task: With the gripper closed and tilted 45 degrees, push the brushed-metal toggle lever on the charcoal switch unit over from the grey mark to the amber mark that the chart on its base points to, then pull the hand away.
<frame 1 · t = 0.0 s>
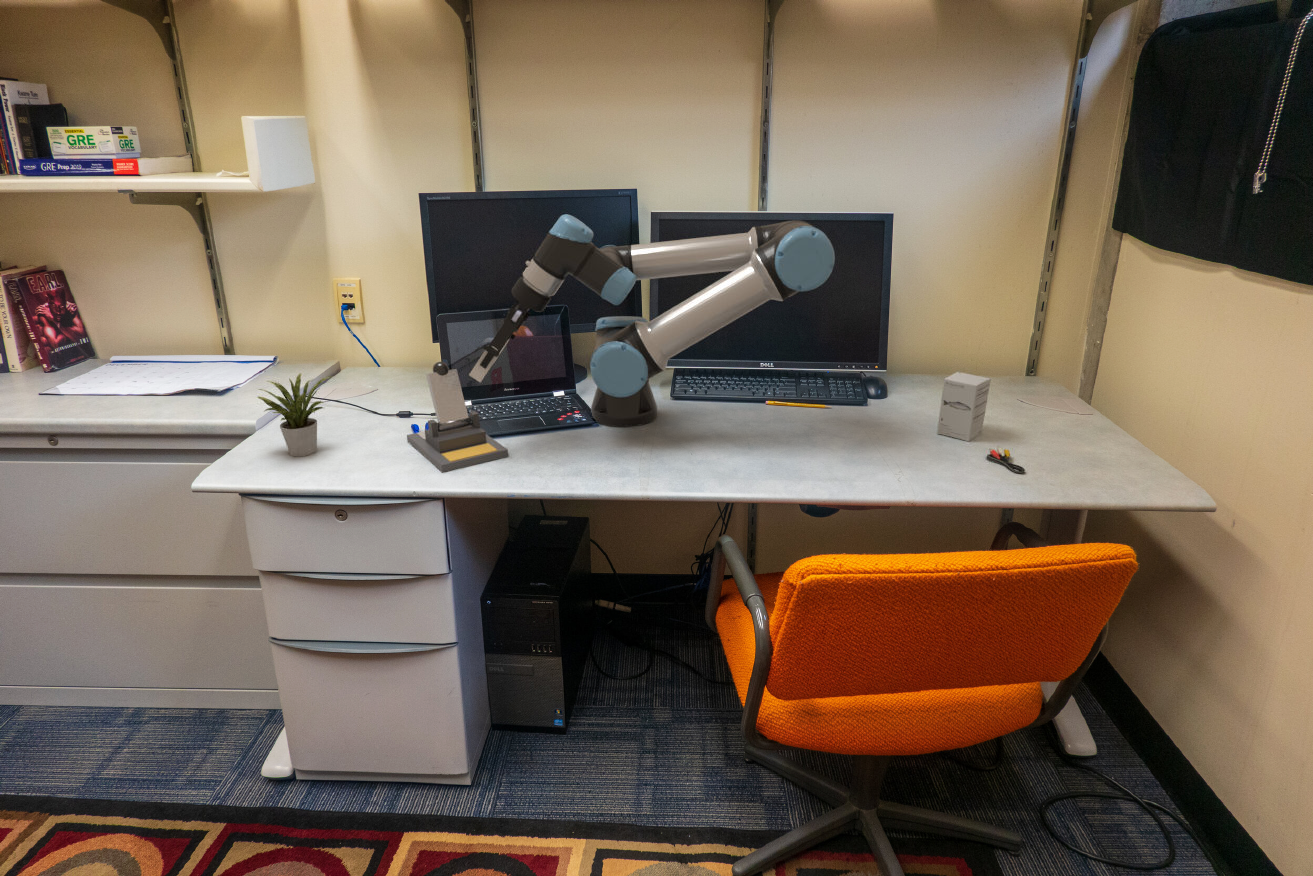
hand: (481, 368, 171), 15 cm above the table, fingers open, 13 cm apart
composite cable: (1003, 467, 161), on the table
switch unit: (456, 448, 170), on the table
toggle lever: (447, 395, 168), point 11 cm above the table, hinge at -24.0°
house plant: (308, 450, 171), on the table
supplement box: (959, 434, 177), on the table
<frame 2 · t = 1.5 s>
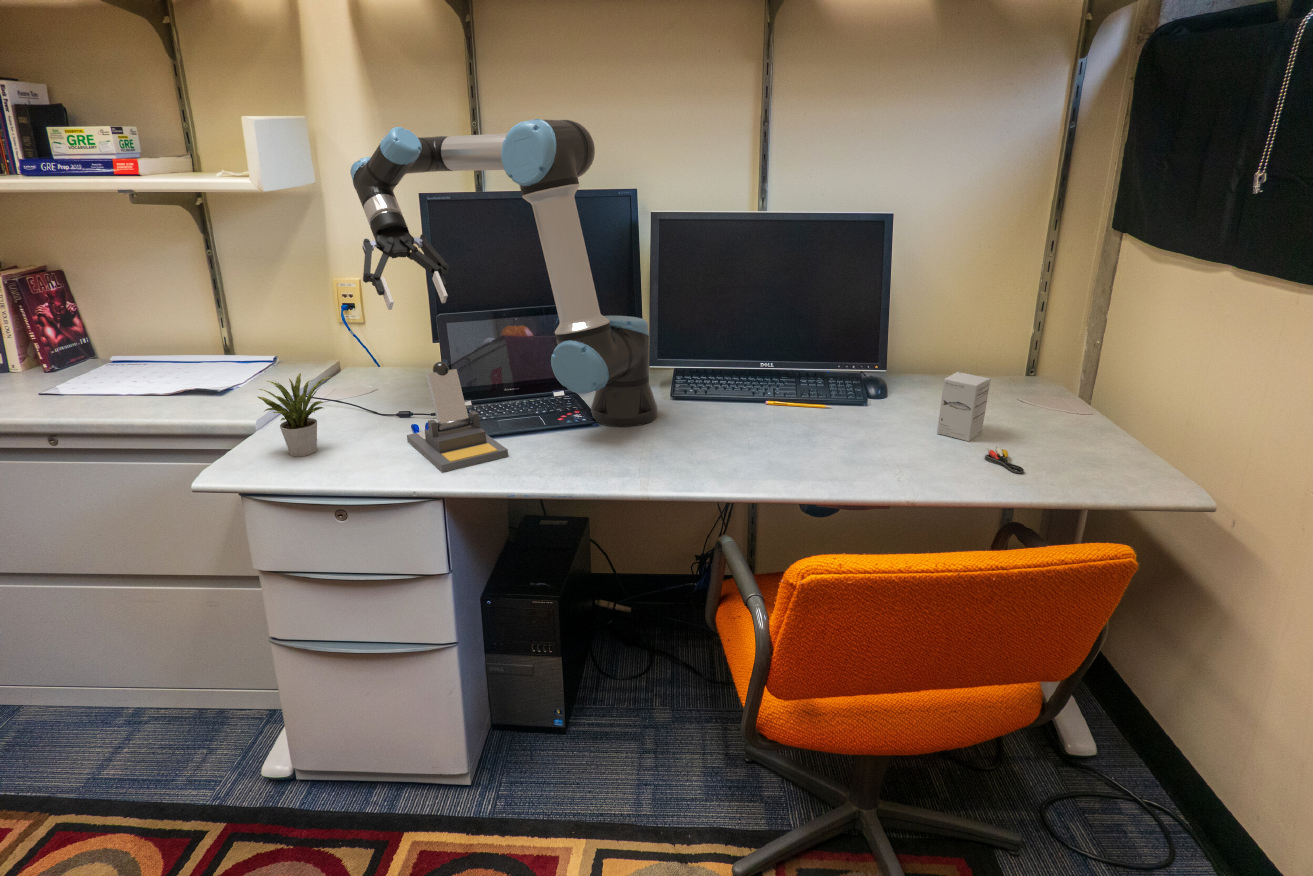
hand: (418, 302, 175), 27 cm above the table, fingers open, 11 cm apart
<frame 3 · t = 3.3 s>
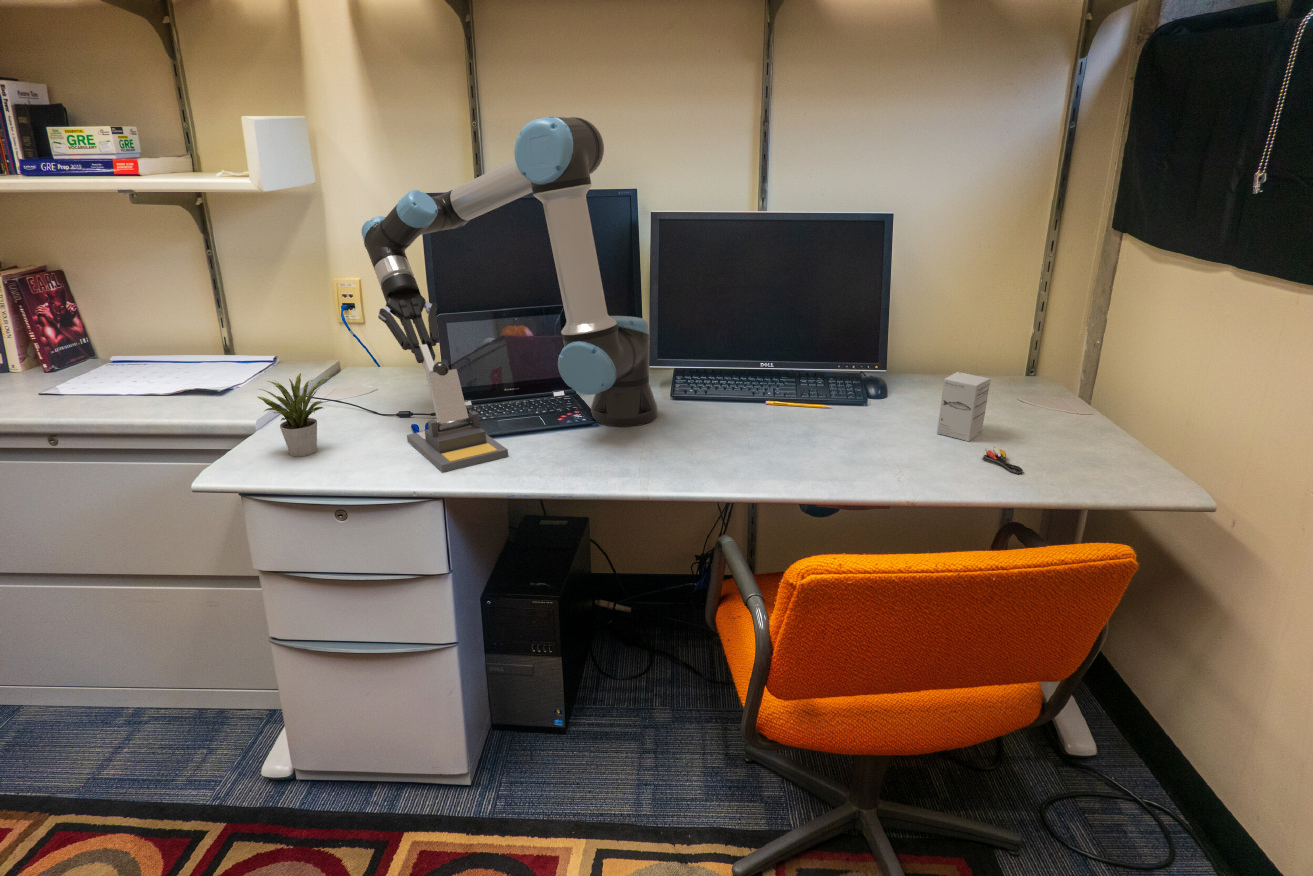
hand: (432, 373, 172), 14 cm above the table, fingers closed
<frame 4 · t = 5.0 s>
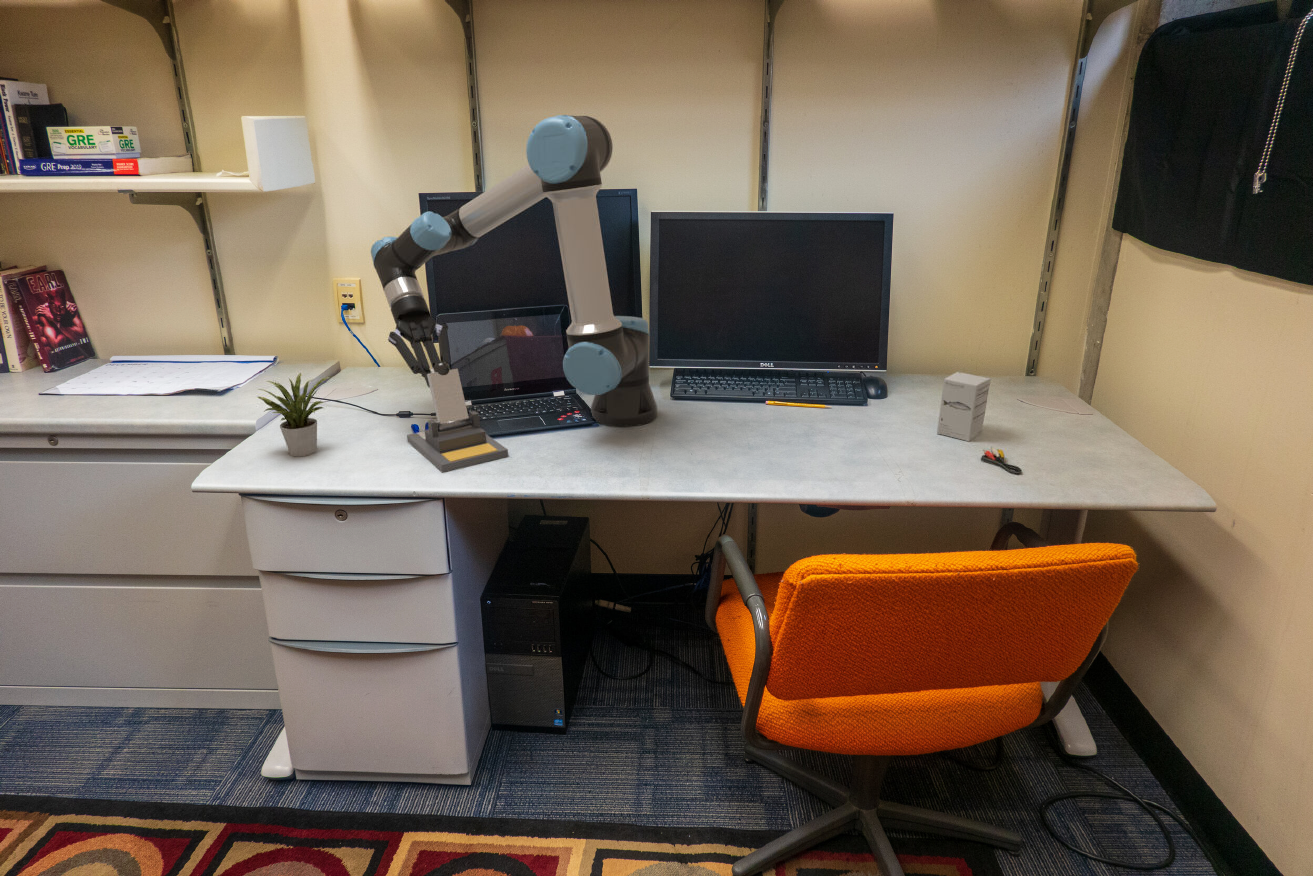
hand: (442, 398, 170), 10 cm above the table, fingers closed
toggle lever: (447, 395, 168), point 11 cm above the table, hinge at -20.8°, touching gripper
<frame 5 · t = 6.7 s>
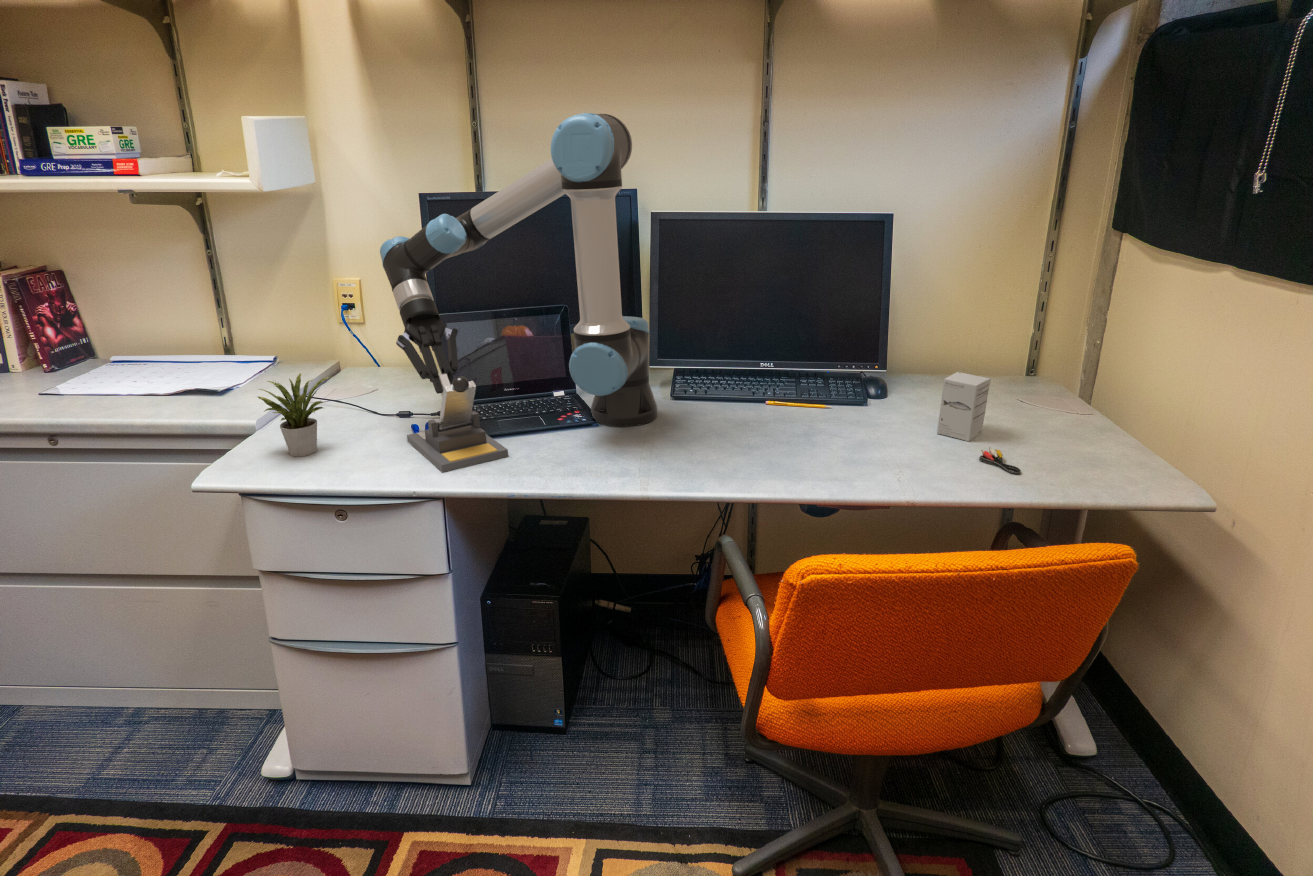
hand: (451, 405, 166), 10 cm above the table, fingers closed
toggle lever: (457, 403, 164), point 11 cm above the table, hinge at 29.7°, touching gripper
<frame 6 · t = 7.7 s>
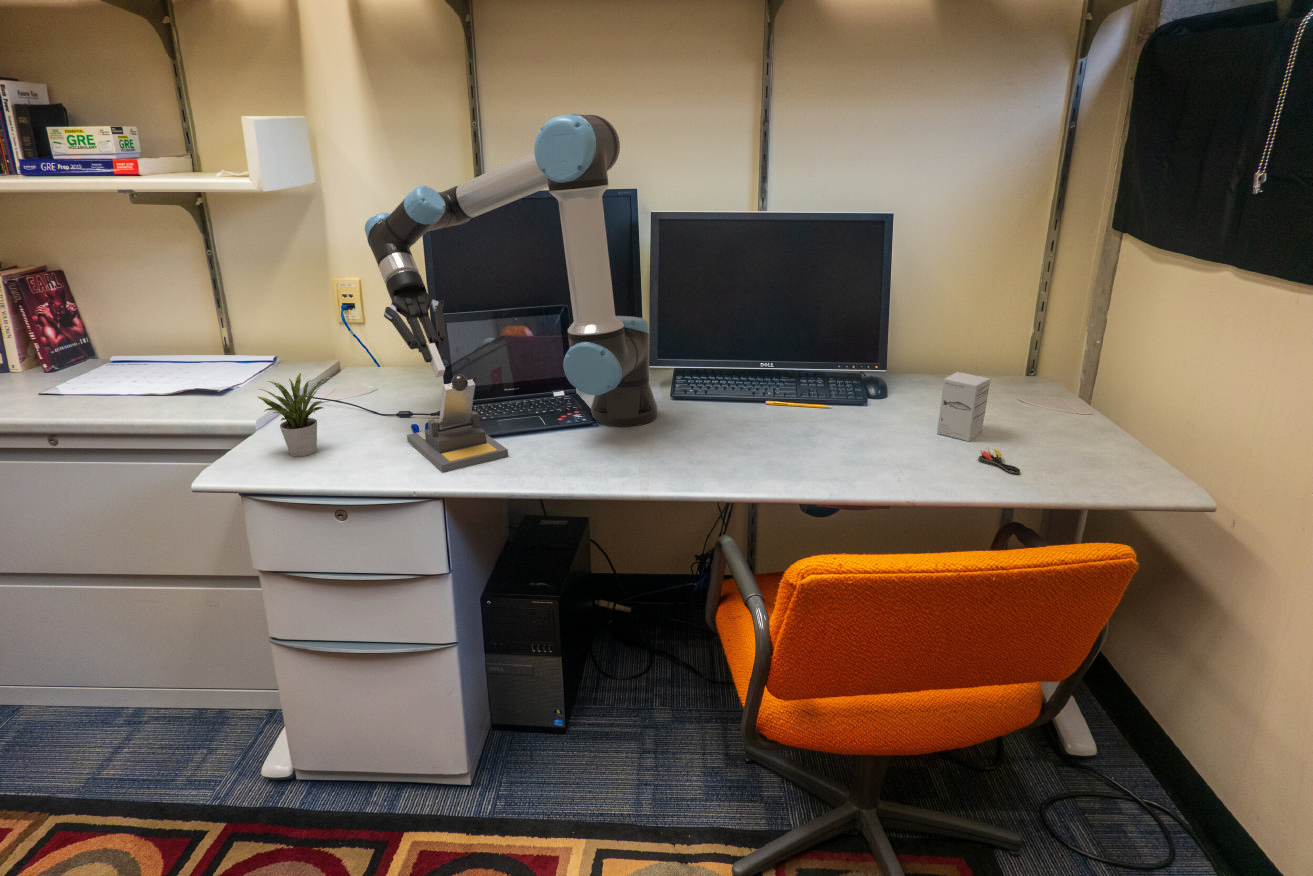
hand: (440, 373, 167), 15 cm above the table, fingers closed
toggle lever: (457, 402, 164), point 11 cm above the table, hinge at 27.4°
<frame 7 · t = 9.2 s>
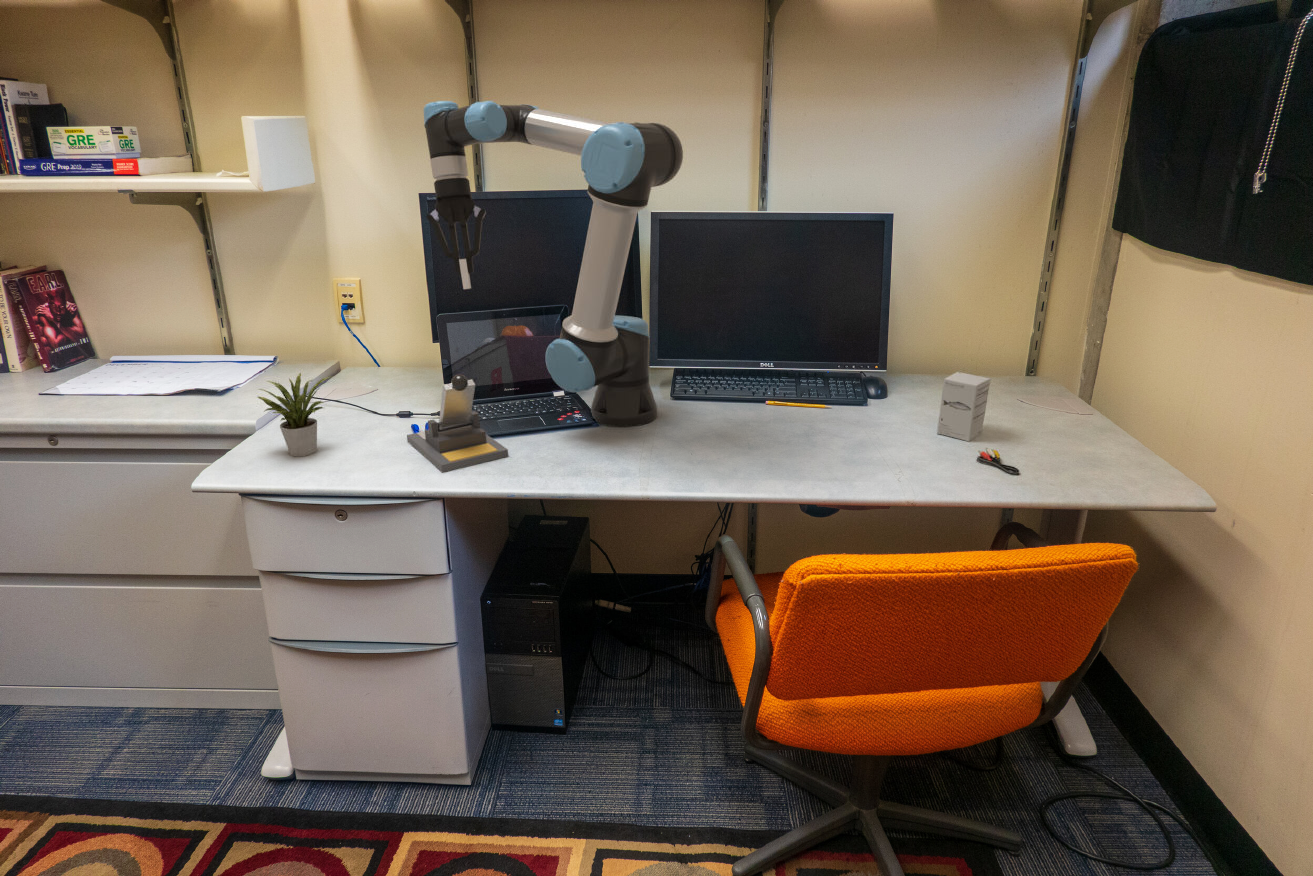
hand: (467, 288, 183), 29 cm above the table, fingers closed
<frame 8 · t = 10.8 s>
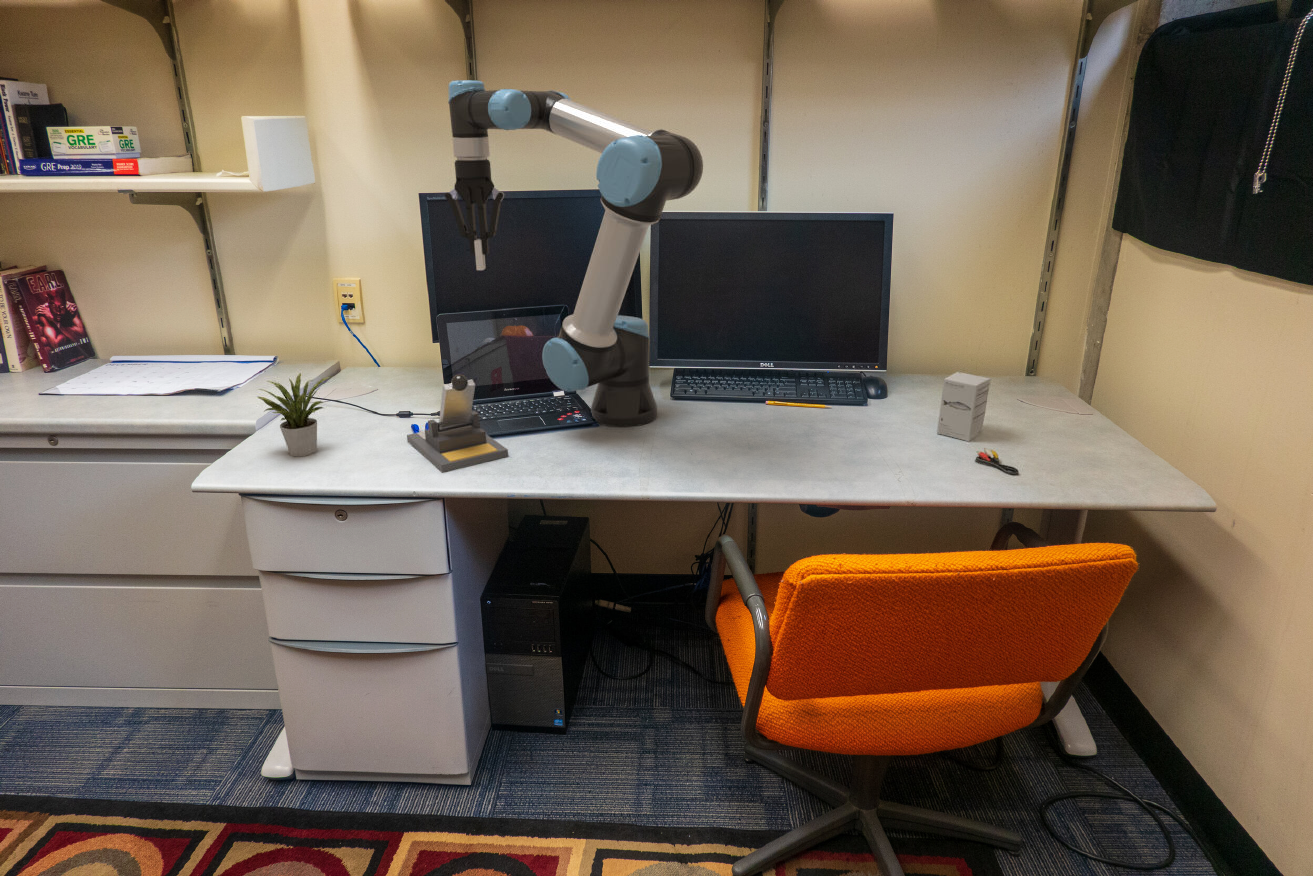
hand: (481, 269, 185), 32 cm above the table, fingers closed
at the end: toggle lever at +27° (first picture: -24°); the gripper is holding nothing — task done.
